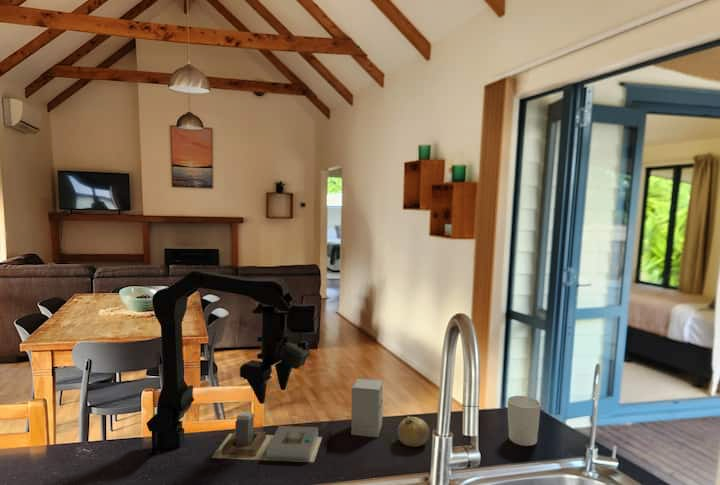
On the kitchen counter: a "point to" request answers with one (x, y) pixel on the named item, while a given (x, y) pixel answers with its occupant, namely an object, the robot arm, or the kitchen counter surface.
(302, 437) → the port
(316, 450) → the board
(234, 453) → the brown rectangular frame
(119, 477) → the kitchen counter surface
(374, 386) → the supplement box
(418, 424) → the onion
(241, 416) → the plug
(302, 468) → the kitchen counter surface
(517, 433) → the white cup
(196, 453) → the kitchen counter surface
